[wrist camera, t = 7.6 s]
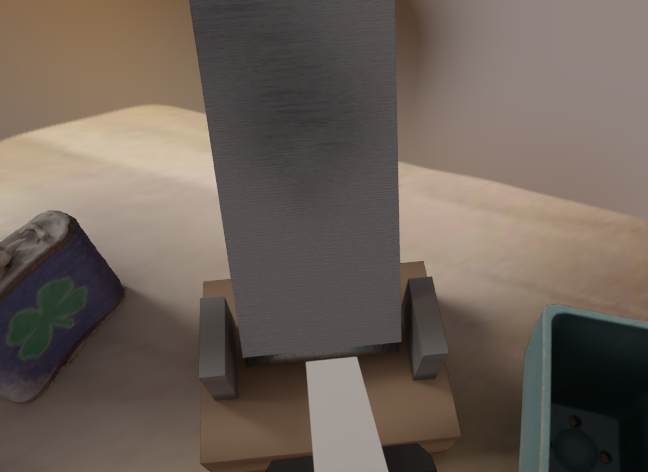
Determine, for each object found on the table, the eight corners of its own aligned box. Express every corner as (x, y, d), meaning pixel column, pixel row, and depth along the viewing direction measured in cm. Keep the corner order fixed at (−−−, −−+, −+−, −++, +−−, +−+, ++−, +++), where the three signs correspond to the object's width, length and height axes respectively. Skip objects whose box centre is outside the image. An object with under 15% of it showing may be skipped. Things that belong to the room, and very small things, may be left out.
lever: (427, 362, 28) (427, -108, 20) (220, 382, 28) (138, -88, 20) (416, 334, 31) (412, -96, 23) (225, 353, 30) (154, -78, 22)
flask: (28, 412, 33) (-92, 350, 23) (-5, 386, 33) (-134, 316, 24) (135, 292, 37) (69, 198, 27) (103, 271, 37) (28, 173, 28)
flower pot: (485, 519, 29) (539, 501, 22) (496, 361, 34) (544, 299, 26) (660, 562, 28) (782, 558, 21) (647, 392, 33) (744, 337, 25)
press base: (447, 451, 31) (479, 417, 24) (215, 475, 31) (180, 448, 24) (415, 290, 36) (433, 225, 29) (216, 309, 36) (187, 247, 29)
